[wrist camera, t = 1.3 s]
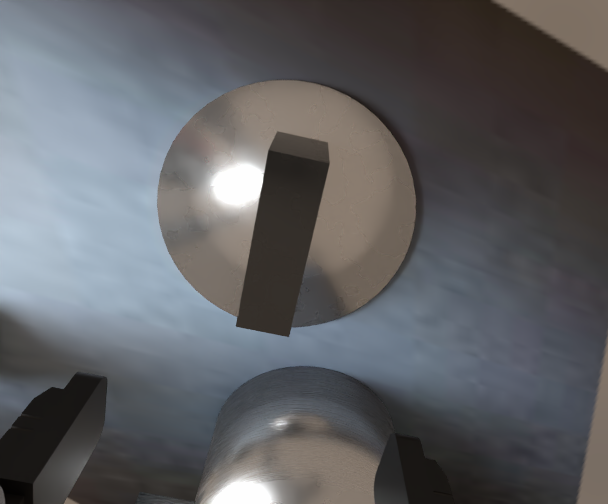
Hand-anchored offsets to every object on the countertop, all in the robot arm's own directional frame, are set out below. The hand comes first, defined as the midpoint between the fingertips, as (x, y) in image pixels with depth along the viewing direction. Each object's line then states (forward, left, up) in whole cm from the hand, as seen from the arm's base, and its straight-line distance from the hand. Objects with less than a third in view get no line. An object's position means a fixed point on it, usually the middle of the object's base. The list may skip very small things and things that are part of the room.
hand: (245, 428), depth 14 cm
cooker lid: (0, 0, -19) cm, 19 cm away
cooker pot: (+18, +5, -19) cm, 26 cm away
